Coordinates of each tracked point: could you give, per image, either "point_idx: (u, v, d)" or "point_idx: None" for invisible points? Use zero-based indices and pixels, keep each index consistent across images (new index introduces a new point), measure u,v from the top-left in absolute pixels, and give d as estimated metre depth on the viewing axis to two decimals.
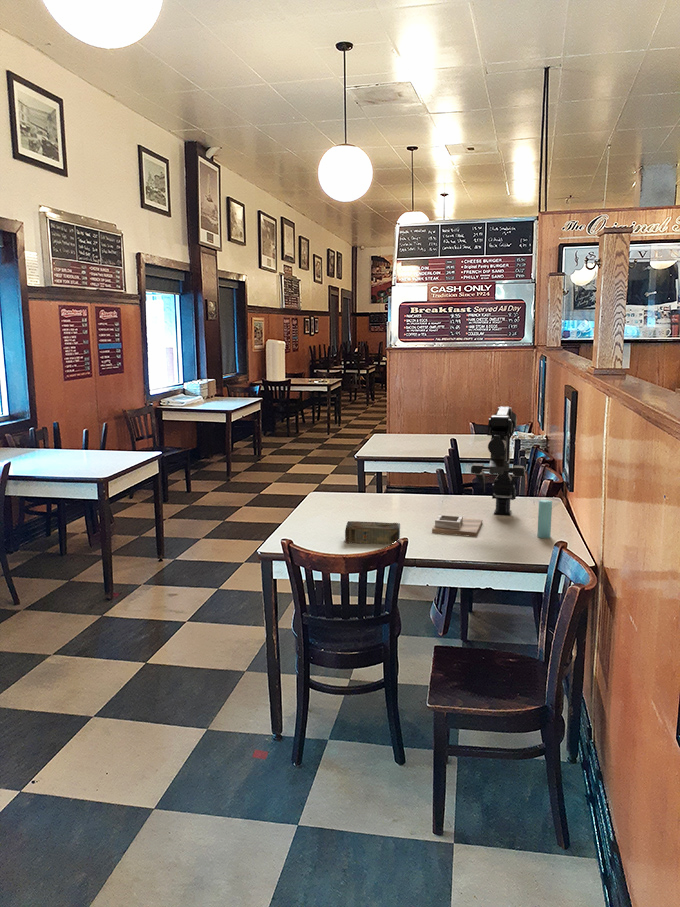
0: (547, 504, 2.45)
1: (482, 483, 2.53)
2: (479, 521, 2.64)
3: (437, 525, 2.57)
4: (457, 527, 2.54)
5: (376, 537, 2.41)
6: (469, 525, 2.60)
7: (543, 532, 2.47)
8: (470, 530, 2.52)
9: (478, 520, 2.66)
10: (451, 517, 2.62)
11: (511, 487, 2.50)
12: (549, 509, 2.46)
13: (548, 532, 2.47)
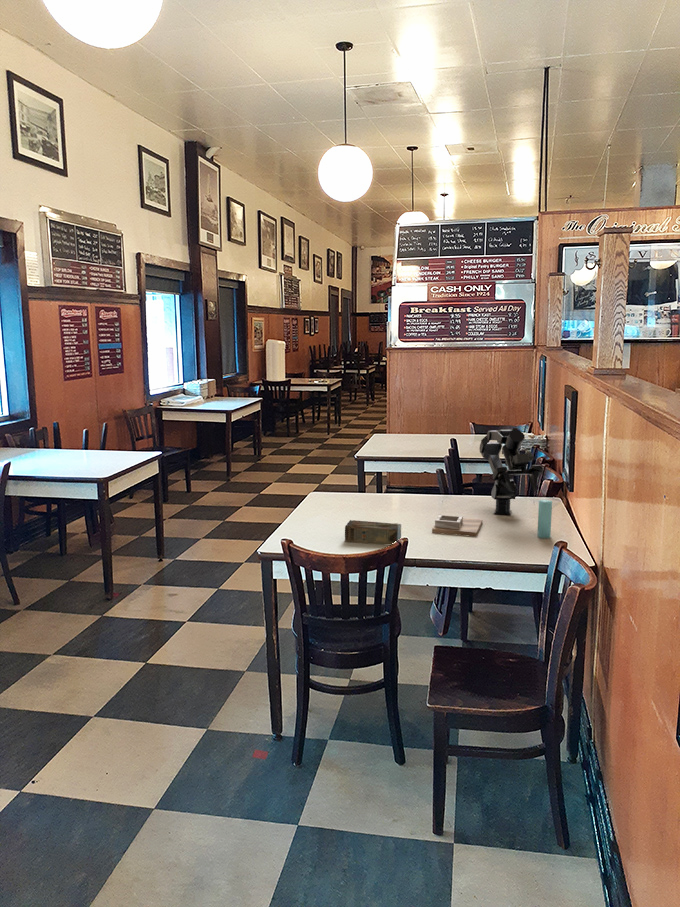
0: (547, 504, 2.45)
1: (509, 482, 2.60)
2: (479, 521, 2.64)
3: (437, 525, 2.57)
4: (457, 527, 2.54)
5: (375, 537, 2.41)
6: (469, 525, 2.60)
7: (543, 532, 2.47)
8: (470, 530, 2.52)
9: (478, 520, 2.66)
10: (451, 517, 2.62)
11: (535, 483, 2.62)
12: (549, 509, 2.46)
13: (548, 532, 2.47)
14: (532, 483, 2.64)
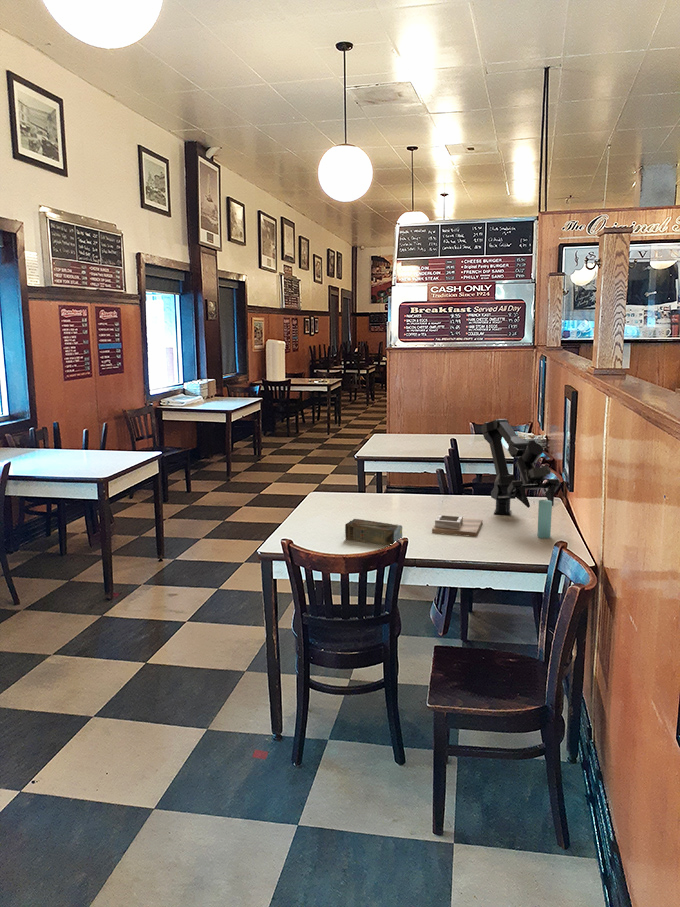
0: (547, 504, 2.45)
1: (525, 497, 2.51)
2: (479, 521, 2.64)
3: (437, 525, 2.57)
4: (457, 527, 2.54)
5: (372, 537, 2.42)
6: (469, 525, 2.60)
7: (543, 532, 2.47)
8: (470, 530, 2.52)
9: (478, 520, 2.66)
10: (451, 517, 2.62)
11: (552, 498, 2.53)
12: (549, 509, 2.46)
13: (548, 532, 2.47)
14: (549, 498, 2.54)
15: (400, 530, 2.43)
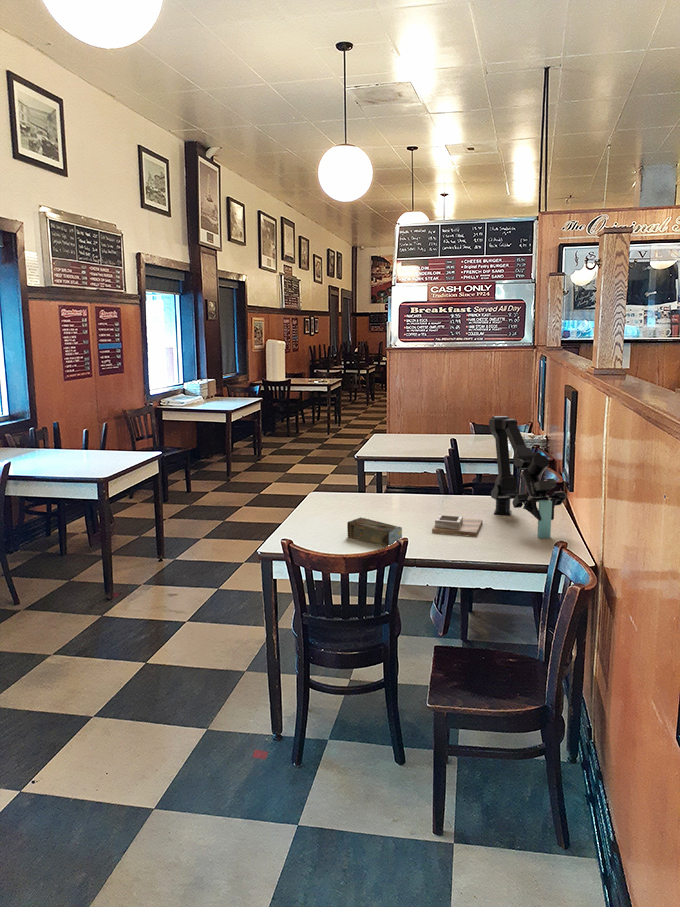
0: (547, 504, 2.45)
1: (536, 510, 2.48)
2: (479, 521, 2.64)
3: (437, 525, 2.57)
4: (457, 527, 2.54)
5: (370, 536, 2.42)
6: (469, 525, 2.60)
7: (543, 532, 2.47)
8: (470, 530, 2.52)
9: (478, 520, 2.66)
10: (451, 517, 2.62)
11: (552, 511, 2.48)
12: (549, 509, 2.46)
13: (548, 532, 2.47)
14: None
15: (398, 532, 2.41)
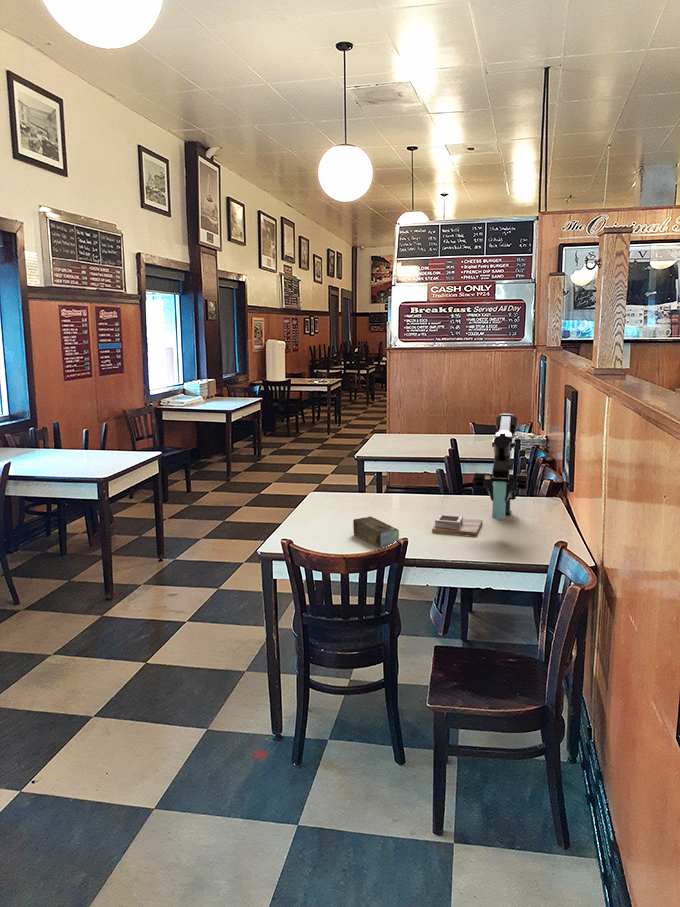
0: (498, 485, 2.45)
1: (490, 490, 2.48)
2: (479, 521, 2.64)
3: (437, 525, 2.57)
4: (457, 527, 2.54)
5: (368, 535, 2.43)
6: (469, 525, 2.60)
7: (494, 513, 2.47)
8: (470, 530, 2.52)
9: (478, 520, 2.66)
10: (451, 517, 2.62)
11: (507, 493, 2.46)
12: (500, 490, 2.45)
13: (500, 513, 2.46)
14: None
15: (394, 534, 2.39)
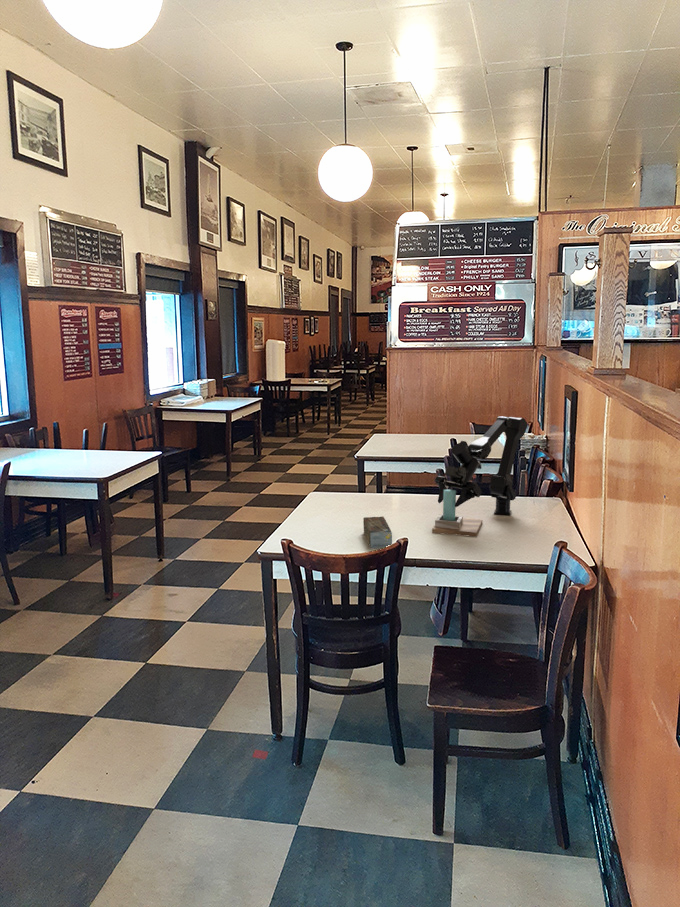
0: (445, 492, 2.57)
1: (440, 493, 2.61)
2: (479, 521, 2.64)
3: (437, 525, 2.57)
4: (457, 527, 2.54)
5: (366, 534, 2.44)
6: (469, 525, 2.60)
7: (443, 519, 2.59)
8: (470, 530, 2.52)
9: (478, 520, 2.66)
10: None
11: (458, 499, 2.55)
12: (446, 498, 2.56)
13: (446, 520, 2.58)
14: None
15: (386, 535, 2.37)
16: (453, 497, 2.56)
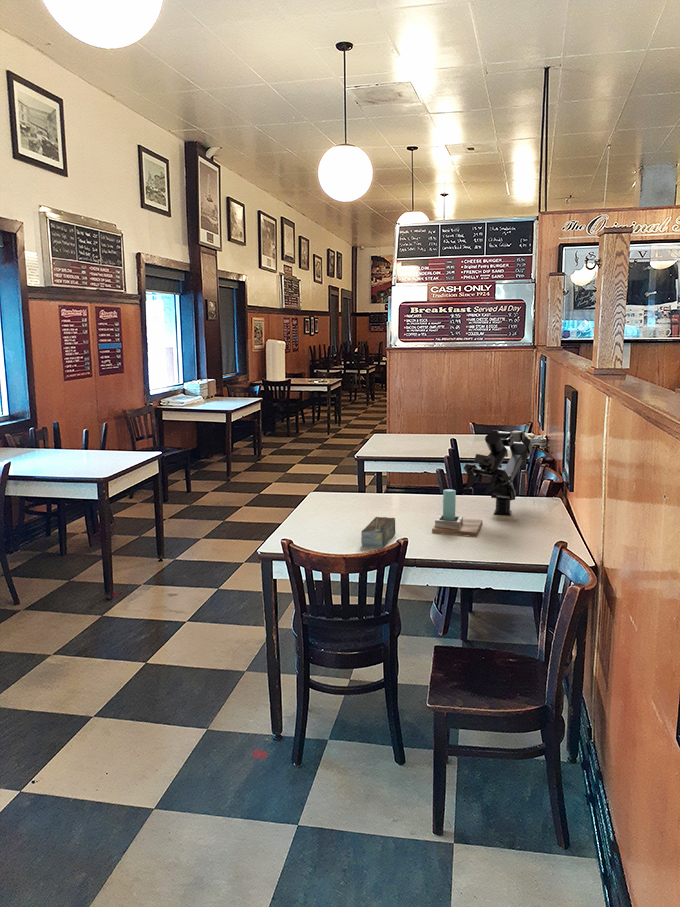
0: (444, 493, 2.57)
1: (468, 479, 2.70)
2: (479, 521, 2.64)
3: (437, 525, 2.57)
4: (457, 527, 2.54)
5: None
6: (469, 525, 2.60)
7: (443, 519, 2.59)
8: (470, 530, 2.52)
9: (478, 520, 2.66)
10: None
11: (488, 486, 2.62)
12: (446, 498, 2.56)
13: (446, 520, 2.58)
14: None
15: (376, 535, 2.36)
16: (453, 497, 2.56)
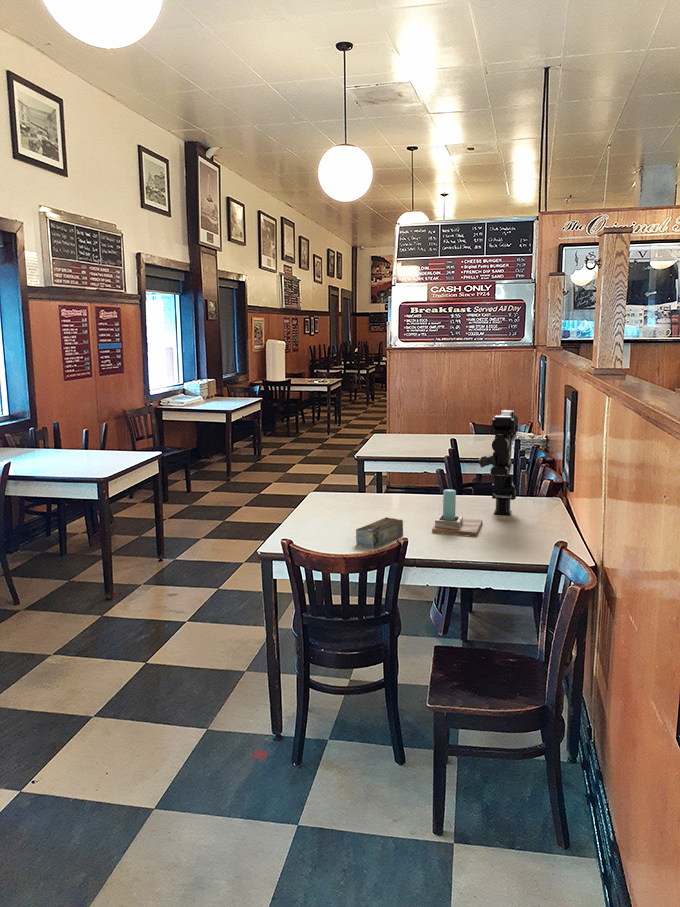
0: (445, 493, 2.56)
1: None
2: (479, 521, 2.64)
3: (437, 525, 2.57)
4: (457, 527, 2.54)
5: None
6: (469, 525, 2.60)
7: (443, 519, 2.59)
8: (470, 530, 2.52)
9: (478, 520, 2.66)
10: None
11: (496, 485, 2.62)
12: (446, 498, 2.56)
13: (446, 520, 2.58)
14: None
15: (368, 535, 2.37)
16: (453, 497, 2.56)
